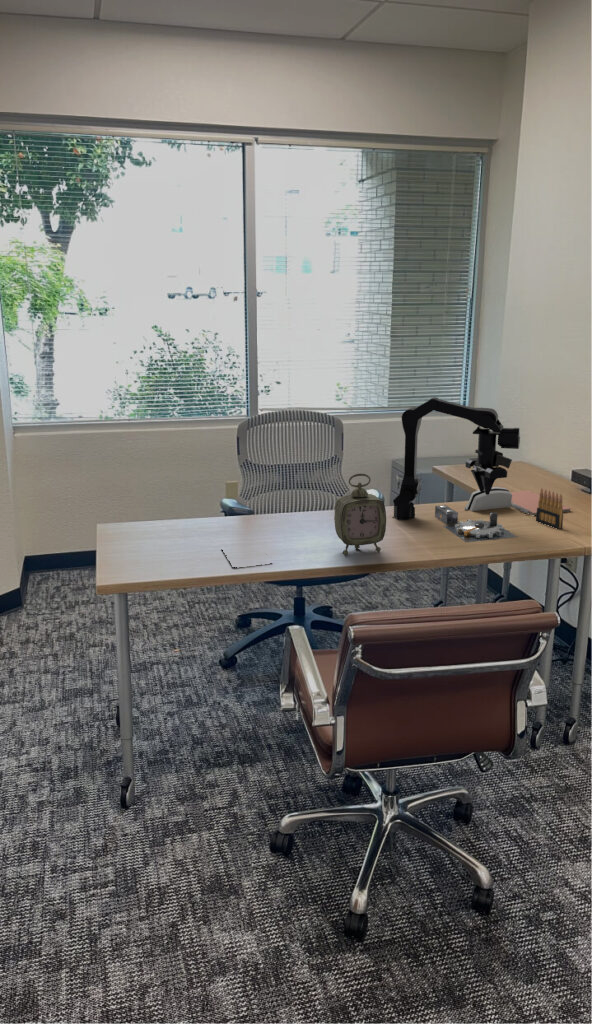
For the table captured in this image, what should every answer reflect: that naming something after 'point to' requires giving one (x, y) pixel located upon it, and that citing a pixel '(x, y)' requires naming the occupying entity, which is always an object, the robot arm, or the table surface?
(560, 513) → the ammunition clip
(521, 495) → the notebook
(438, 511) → the chain link
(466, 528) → the sprocket wheel
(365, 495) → the tabletop clock
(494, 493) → the grey half-round block
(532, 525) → the table surface
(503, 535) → the base plate
